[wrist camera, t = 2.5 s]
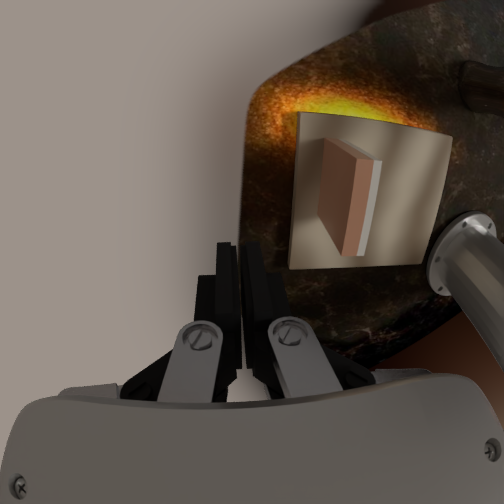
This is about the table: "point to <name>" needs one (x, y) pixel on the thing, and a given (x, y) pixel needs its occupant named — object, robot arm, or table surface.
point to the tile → (348, 194)
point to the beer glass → (482, 87)
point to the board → (388, 195)
